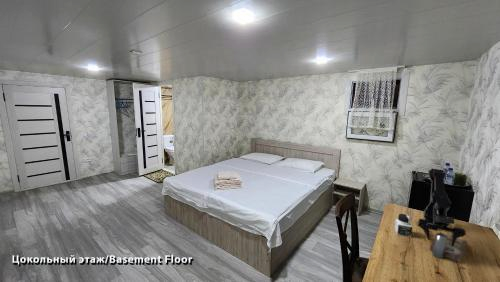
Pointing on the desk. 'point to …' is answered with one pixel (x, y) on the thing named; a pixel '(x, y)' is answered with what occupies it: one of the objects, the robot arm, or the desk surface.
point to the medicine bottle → (403, 225)
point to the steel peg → (439, 245)
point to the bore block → (453, 248)
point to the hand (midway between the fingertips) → (440, 243)
